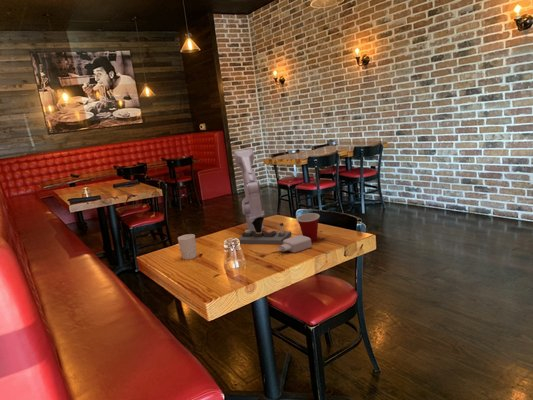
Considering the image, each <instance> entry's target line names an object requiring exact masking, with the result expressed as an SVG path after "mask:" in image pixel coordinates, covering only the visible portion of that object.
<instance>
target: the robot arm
mask: <svg viewBox="0 0 533 400" xmlns="http://www.w3.org/2000/svg"><path fill="white" fill-rule="evenodd" d="M233 155H234V162H235V166H236V167H238V168H239V169H240V171H241V176H242V183H243V188H244V194H245V197H244V198H243V199H242V201H241V209H242V214H243V215H244V216H245V220H246V226H247V229H251V231H256V232H257V233H260V232H261V231H263V229H264V228H266V226H265V225H264V220H265V218H264V216H265V210H263V209H262V208H263V207H262V201H261V194H260V193H261V185H260V182H259V180H258V179H257V176H256V175H257V174H256V171H254V170H253V169H252V166H253V165H254V159H255V157H254V156H255V155H254V150H253V148H247V149H241V150H234V153H233Z"/></svg>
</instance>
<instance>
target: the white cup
mask: <svg viewBox="0 0 533 400" xmlns="http://www.w3.org/2000/svg"><path fill="white" fill-rule="evenodd" d="M177 241H178V246H179V251H180V254H181V258H182V259H183V260H184V259H185V260H193V259H195V258H197V256H198V254H197V242H196V235H195V234H194V233H193V234H192V233H189V234H182V235H180V236H178V237H177ZM185 260H184V261H185Z"/></svg>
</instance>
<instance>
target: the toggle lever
mask: <svg viewBox="0 0 533 400" xmlns="http://www.w3.org/2000/svg"><path fill="white" fill-rule="evenodd" d="M279 227H280V228H279V229H280V230H279V231H280V233H282V231H283V227H284V223H283V222H280V223H279Z"/></svg>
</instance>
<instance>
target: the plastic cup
mask: <svg viewBox="0 0 533 400" xmlns="http://www.w3.org/2000/svg"><path fill="white" fill-rule="evenodd" d="M319 219H320V214H319V213H315V212H314V213H312V212H311V213H304V214H301V215H297V217H296V220H297V222H298V224H299V226H300V231H301V235H303V236H306V237H309V238H310V239H311V243H314V242H316V241H317V239H318V228H319V227H318V226H319Z"/></svg>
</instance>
